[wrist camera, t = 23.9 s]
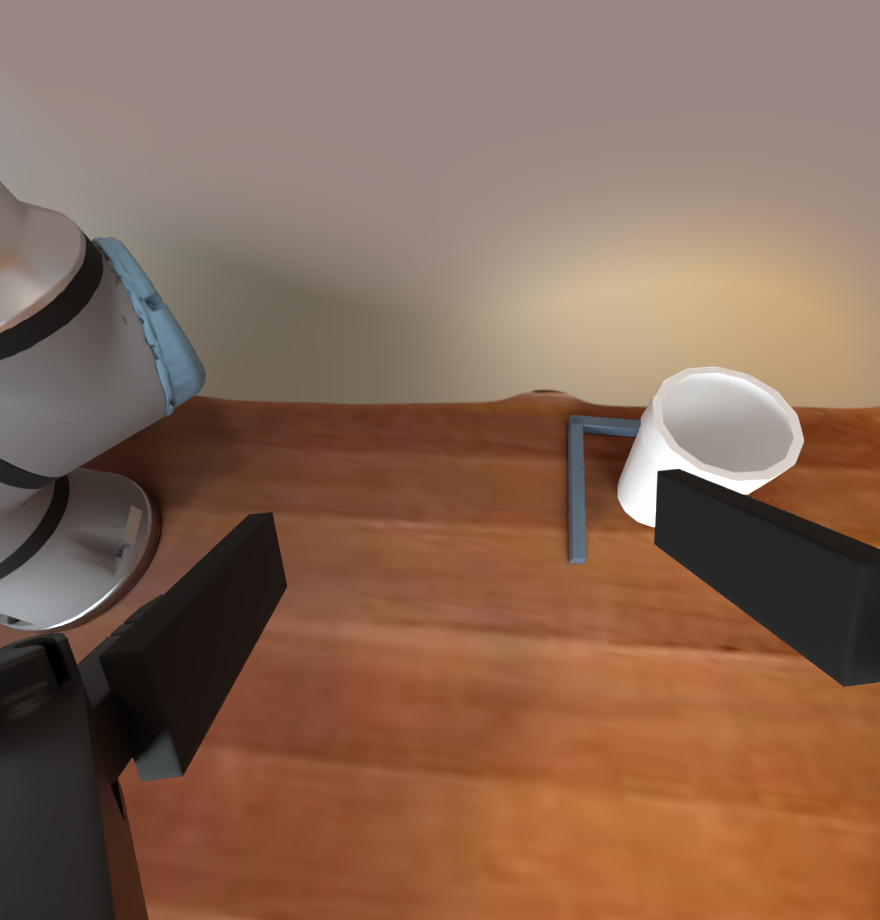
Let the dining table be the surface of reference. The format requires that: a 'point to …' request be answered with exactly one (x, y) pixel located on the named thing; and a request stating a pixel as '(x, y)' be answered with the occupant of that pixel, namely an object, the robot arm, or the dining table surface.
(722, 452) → the foam cup
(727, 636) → the dining table surface
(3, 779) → the robot arm
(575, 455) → the bay
